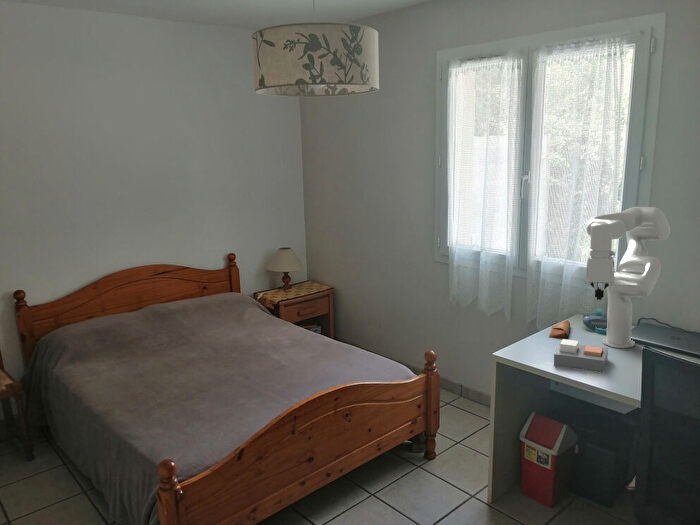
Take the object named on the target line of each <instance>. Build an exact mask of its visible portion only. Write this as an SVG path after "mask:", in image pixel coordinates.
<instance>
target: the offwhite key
mask: <svg viewBox="0 0 700 525" xmlns="http://www.w3.org/2000/svg"><path fill="white" fill-rule="evenodd" d="M559 344H560V351H562V352H569V353H577V351H578V344H580V343H579V340H573V339H561V341H560V343H559Z"/></svg>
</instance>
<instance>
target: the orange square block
mask: <svg viewBox="0 0 700 525" xmlns="http://www.w3.org/2000/svg"><path fill="white" fill-rule="evenodd" d="M603 348H604V347H603ZM603 348H601V347H600V346H595V347H593V345H587V346H586V348H585V350H584V355H592V356H600V357H602V354H603Z"/></svg>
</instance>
